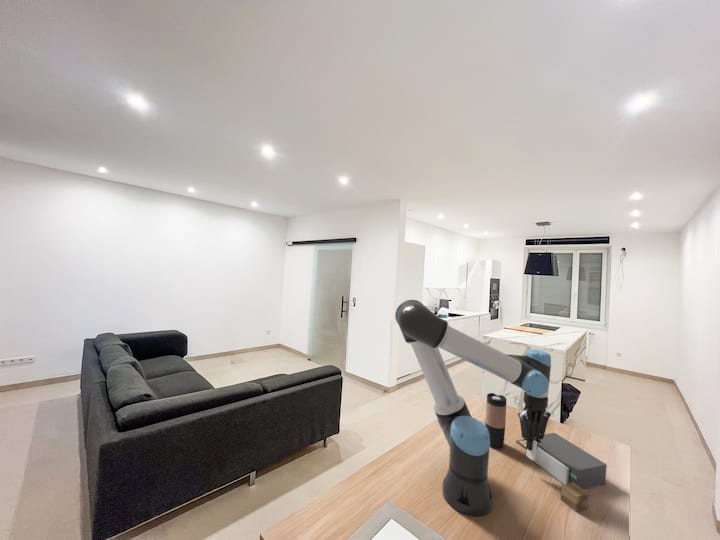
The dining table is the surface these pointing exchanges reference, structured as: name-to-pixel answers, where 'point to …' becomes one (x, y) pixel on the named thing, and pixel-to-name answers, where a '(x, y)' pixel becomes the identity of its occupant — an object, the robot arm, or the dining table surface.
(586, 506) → the walnut block
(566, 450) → the box
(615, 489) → the dining table surface
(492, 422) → the travel mug
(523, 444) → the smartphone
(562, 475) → the light grey drawer
